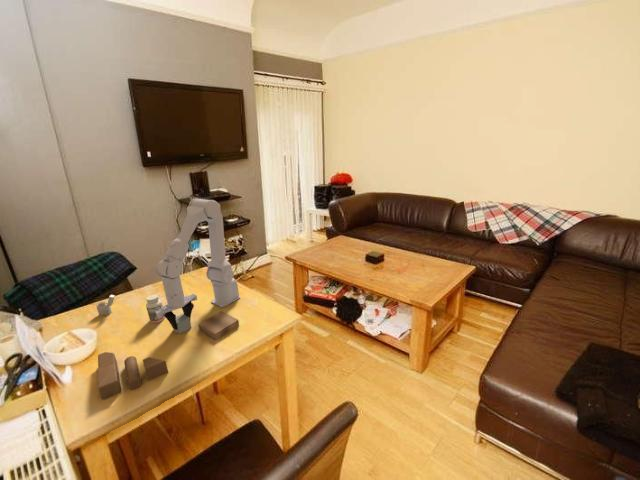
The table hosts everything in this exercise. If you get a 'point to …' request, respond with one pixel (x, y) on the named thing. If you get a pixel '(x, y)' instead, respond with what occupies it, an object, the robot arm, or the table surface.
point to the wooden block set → (111, 378)
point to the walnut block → (218, 325)
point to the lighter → (105, 306)
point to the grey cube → (182, 323)
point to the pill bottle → (154, 308)
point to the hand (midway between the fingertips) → (181, 325)
